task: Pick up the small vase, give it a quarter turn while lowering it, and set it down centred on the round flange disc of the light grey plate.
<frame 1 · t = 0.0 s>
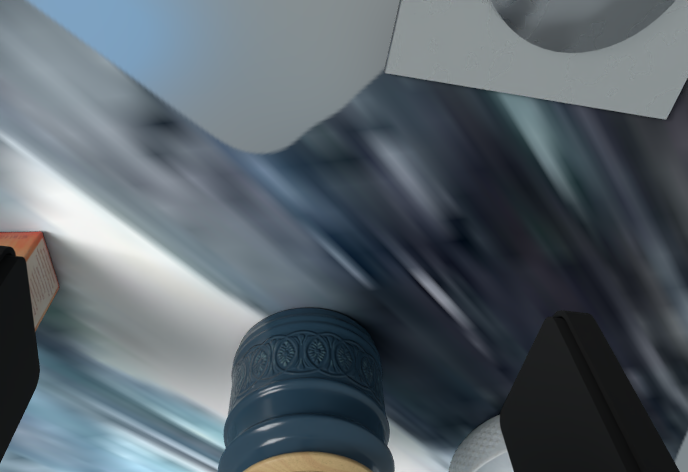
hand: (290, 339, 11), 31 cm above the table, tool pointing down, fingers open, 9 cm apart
cereal bowl: (519, 434, 63), on the table
canister: (307, 357, 56), on the table
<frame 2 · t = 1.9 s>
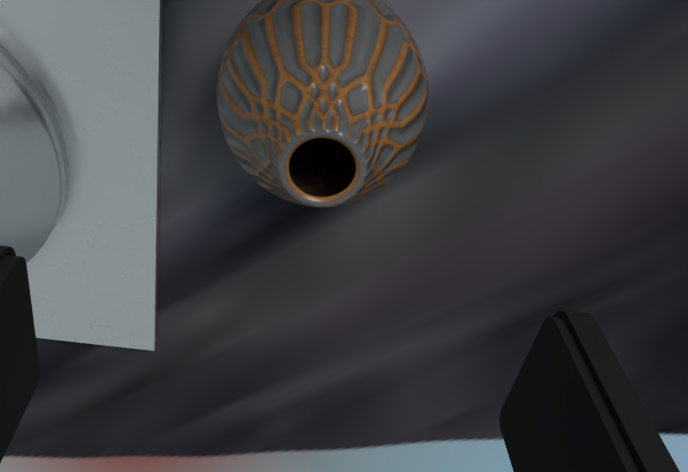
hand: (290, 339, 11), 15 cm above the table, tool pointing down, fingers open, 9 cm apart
vase: (323, 57, 24), on the table
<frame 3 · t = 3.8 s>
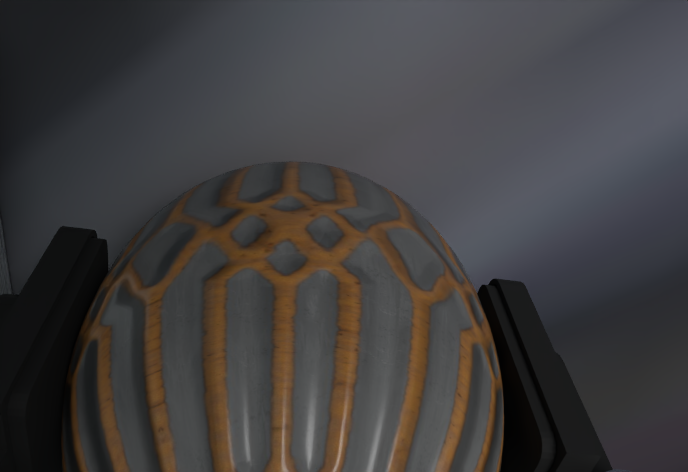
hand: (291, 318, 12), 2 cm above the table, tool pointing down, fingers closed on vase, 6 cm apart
vase: (294, 251, 14), on the table, touching gripper
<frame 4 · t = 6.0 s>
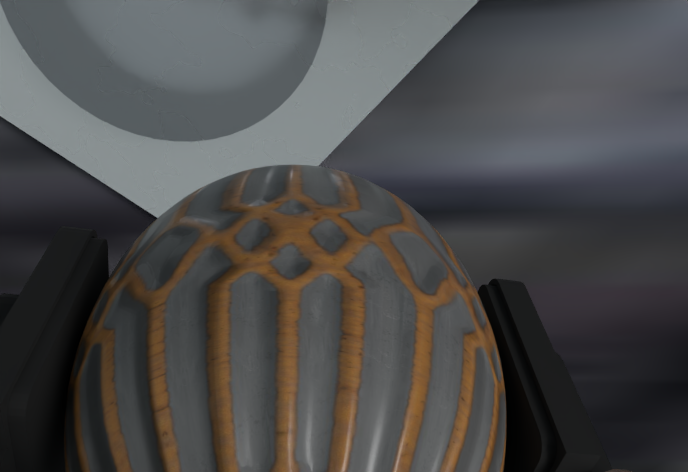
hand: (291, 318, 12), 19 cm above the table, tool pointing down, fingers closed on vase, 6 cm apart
vase: (296, 253, 14), point 16 cm above the table, touching gripper
when the fingers open (5 cm above the table, at t = 8.5 s): vase drops 1 cm, resting on flange plate.
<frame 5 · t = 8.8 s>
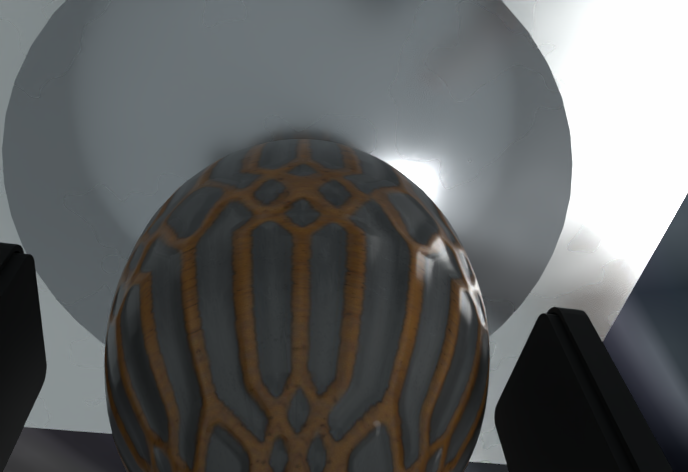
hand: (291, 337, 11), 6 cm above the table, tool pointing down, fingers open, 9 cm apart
vase: (303, 225, 15), point 2 cm above the table, touching flange plate
flange plate: (296, 183, 16), on the table
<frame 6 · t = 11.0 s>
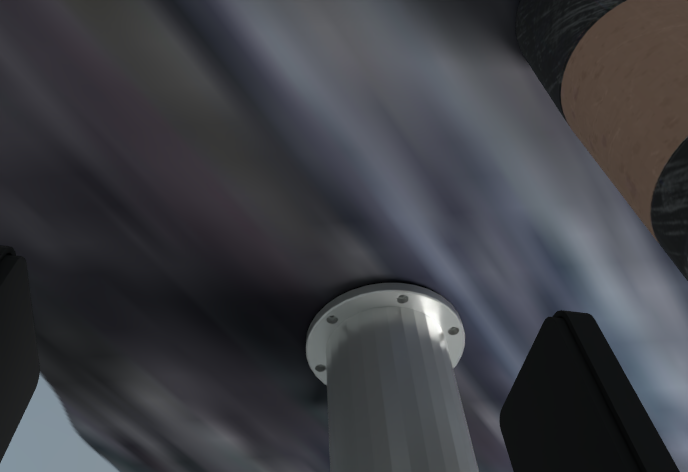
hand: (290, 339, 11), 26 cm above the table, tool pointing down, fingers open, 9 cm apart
travel mug: (576, 12, 35), on the table
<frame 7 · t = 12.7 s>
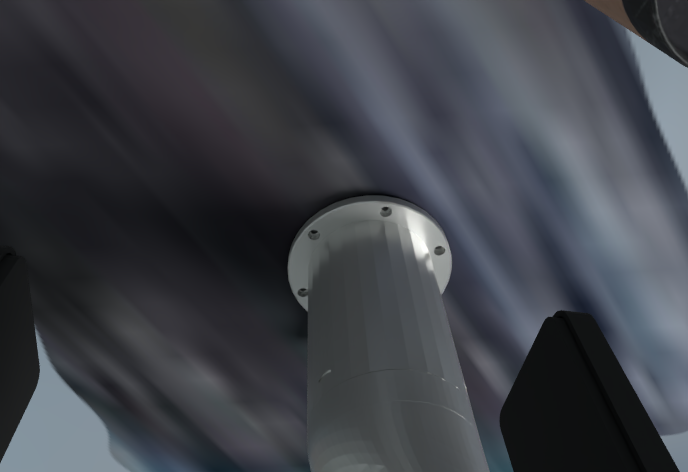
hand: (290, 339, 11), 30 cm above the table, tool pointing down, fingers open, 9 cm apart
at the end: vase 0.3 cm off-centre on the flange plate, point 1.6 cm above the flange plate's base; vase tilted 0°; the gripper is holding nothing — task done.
